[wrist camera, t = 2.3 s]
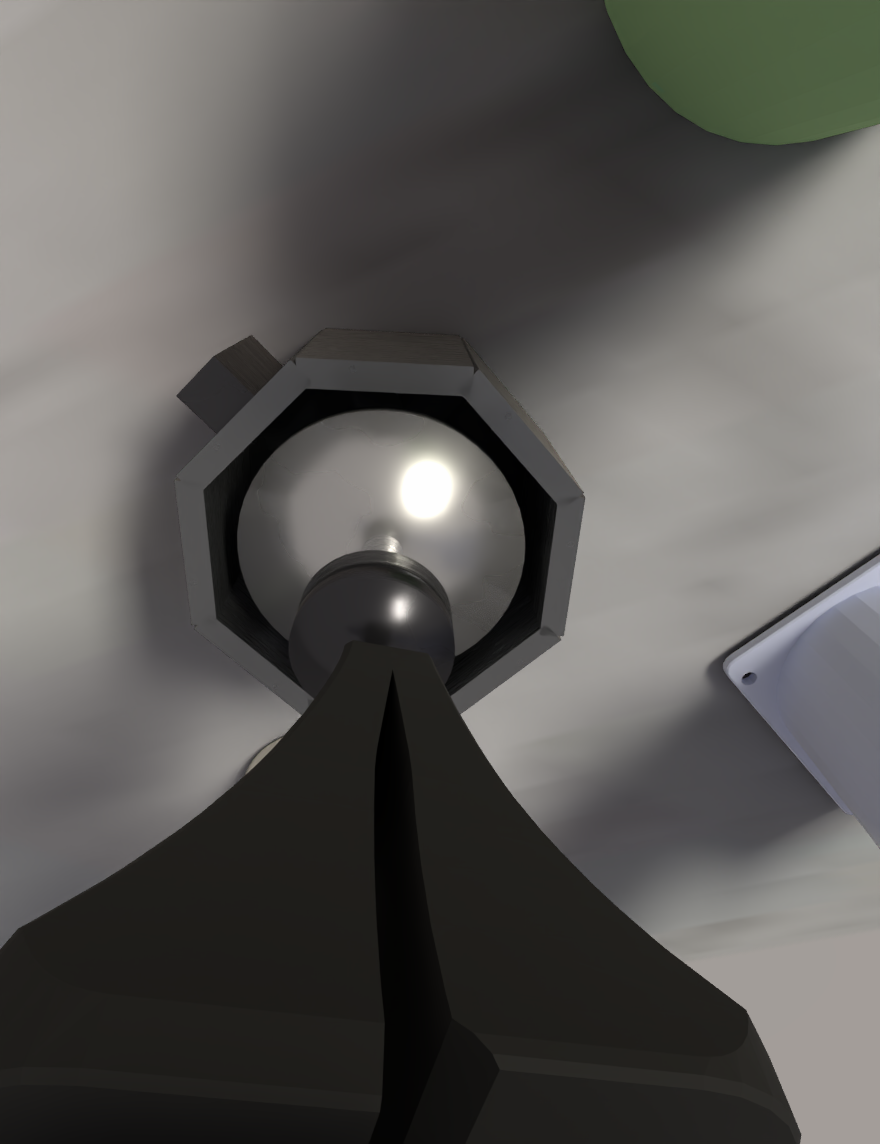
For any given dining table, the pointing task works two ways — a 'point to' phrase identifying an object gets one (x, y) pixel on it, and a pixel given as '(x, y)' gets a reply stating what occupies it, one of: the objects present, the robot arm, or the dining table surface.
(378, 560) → the plunger
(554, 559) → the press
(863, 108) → the mug
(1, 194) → the dining table surface
